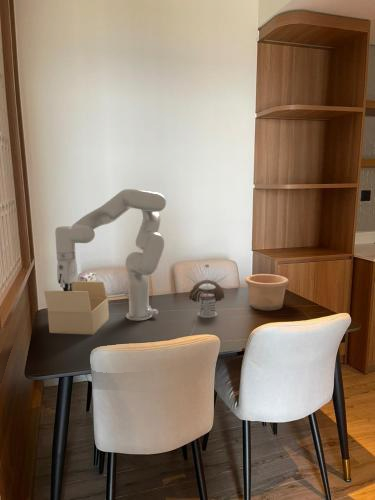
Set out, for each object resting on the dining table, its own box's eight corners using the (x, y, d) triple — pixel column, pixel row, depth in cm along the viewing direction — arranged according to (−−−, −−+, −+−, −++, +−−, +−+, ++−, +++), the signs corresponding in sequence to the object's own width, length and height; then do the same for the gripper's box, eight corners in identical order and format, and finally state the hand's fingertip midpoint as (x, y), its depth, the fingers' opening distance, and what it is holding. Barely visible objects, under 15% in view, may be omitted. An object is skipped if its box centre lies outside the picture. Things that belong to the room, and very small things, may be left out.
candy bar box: (89, 301, 210) (87, 272, 208) (98, 301, 209) (96, 272, 207) (80, 307, 200) (78, 277, 197) (88, 308, 199) (86, 277, 196)
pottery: (281, 314, 184) (281, 286, 182) (238, 308, 195) (238, 281, 192) (292, 302, 203) (293, 276, 200) (253, 297, 213) (253, 272, 211)
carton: (109, 318, 183) (107, 298, 181) (93, 334, 163) (92, 312, 161) (69, 317, 185) (68, 297, 184) (49, 332, 166) (47, 310, 164)
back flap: (107, 298, 181) (107, 297, 181) (103, 282, 175) (103, 281, 176) (68, 297, 183) (69, 296, 184) (63, 281, 178) (64, 280, 178)
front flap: (87, 291, 158) (87, 291, 157) (91, 312, 161) (90, 312, 161) (44, 290, 160) (43, 290, 160) (48, 310, 164) (47, 311, 163)
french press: (221, 313, 187) (221, 264, 183) (206, 319, 179) (205, 268, 174) (206, 309, 194) (205, 261, 189) (190, 315, 185) (190, 265, 181)
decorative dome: (230, 295, 219) (230, 278, 217) (212, 304, 202) (212, 286, 201) (201, 290, 229) (201, 274, 228) (183, 298, 213) (182, 281, 212)
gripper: (66, 259, 151) (68, 303, 154) (81, 253, 166) (83, 293, 169) (48, 258, 152) (51, 303, 155) (65, 252, 167) (67, 293, 170)
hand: (68, 298), depth 162 cm, fingers closed
